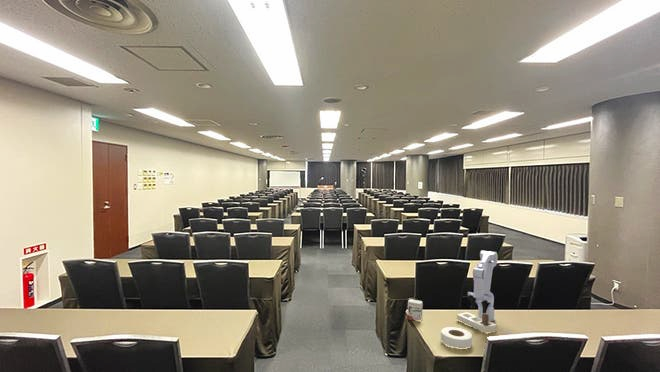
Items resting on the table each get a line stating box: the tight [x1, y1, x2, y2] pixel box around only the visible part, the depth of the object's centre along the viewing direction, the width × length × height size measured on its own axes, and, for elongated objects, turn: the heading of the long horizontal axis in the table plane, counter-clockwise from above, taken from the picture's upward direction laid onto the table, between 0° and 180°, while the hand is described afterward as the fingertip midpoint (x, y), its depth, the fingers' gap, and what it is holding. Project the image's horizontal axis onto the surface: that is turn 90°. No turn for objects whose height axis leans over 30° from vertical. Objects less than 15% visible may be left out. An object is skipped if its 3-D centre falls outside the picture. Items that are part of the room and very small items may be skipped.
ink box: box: [407, 298, 424, 321], centre depth 207 cm, size 9×5×12 cm, turn 62°
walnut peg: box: [482, 314, 489, 326], centre depth 192 cm, size 4×4×8 cm
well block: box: [456, 312, 498, 333], centre depth 198 cm, size 9×21×4 cm, turn 27°
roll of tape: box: [440, 326, 473, 348], centre depth 177 cm, size 16×16×6 cm
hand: (478, 310), depth 196 cm, fingers open, 7 cm apart
